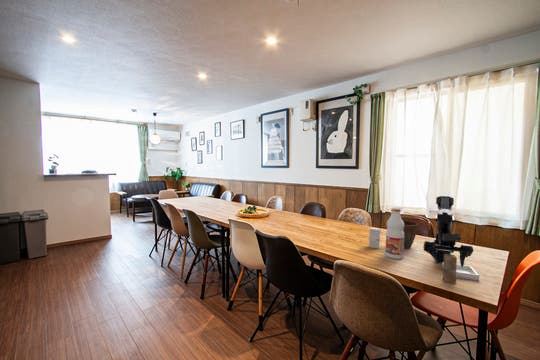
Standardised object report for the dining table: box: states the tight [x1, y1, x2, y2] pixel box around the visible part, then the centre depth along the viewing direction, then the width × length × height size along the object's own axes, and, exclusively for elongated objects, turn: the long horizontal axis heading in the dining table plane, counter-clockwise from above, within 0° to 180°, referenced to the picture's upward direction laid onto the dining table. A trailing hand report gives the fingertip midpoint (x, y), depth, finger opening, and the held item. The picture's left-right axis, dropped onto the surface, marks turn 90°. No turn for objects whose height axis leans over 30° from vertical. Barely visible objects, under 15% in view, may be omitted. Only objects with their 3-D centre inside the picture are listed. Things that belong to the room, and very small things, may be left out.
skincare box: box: [368, 227, 381, 249], centre depth 163 cm, size 6×4×12 cm
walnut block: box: [442, 253, 458, 285], centre depth 114 cm, size 4×4×12 cm
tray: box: [441, 262, 480, 281], centre depth 123 cm, size 12×12×2 cm
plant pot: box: [402, 219, 419, 249], centre depth 164 cm, size 15×15×16 cm
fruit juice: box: [385, 207, 405, 260], centre depth 145 cm, size 9×9×28 cm
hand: (449, 265), depth 113 cm, fingers open, 9 cm apart
